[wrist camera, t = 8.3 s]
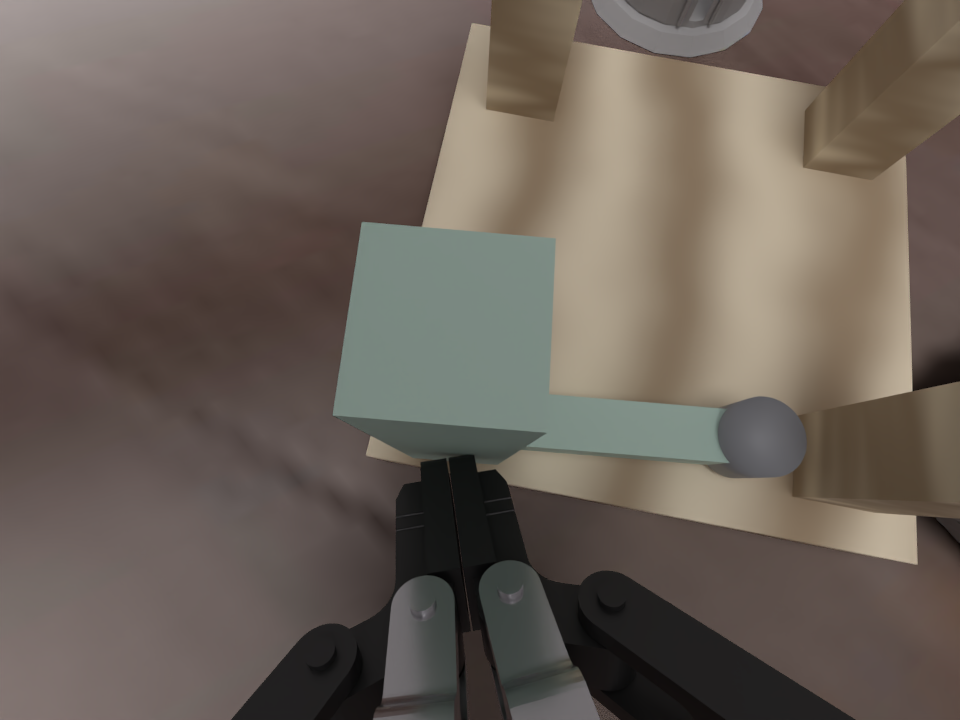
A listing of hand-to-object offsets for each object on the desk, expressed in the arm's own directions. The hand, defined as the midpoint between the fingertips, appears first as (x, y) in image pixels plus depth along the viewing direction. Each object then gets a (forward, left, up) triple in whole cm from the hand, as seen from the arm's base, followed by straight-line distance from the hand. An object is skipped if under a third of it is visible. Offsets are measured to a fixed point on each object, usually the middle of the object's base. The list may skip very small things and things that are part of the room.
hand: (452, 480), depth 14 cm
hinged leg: (+5, +3, -4) cm, 7 cm away
